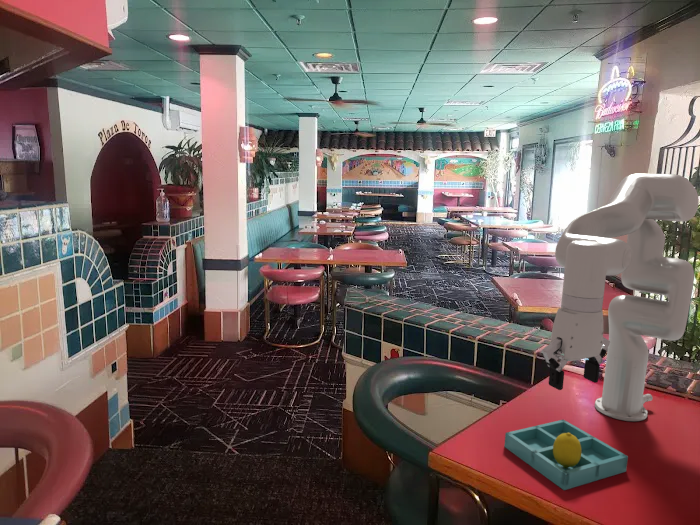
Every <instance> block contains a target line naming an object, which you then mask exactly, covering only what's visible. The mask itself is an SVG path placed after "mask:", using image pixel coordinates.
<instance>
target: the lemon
mask: <svg viewBox="0 0 700 525" xmlns="http://www.w3.org/2000/svg"><path fill="white" fill-rule="evenodd" d="M553 455H554V458H555V460H556V461H557V462H558V463H559V464H560V465H562V466H563V467H564V468H568V467H573V466H575V465H576V464H577V463H578V462H579V460H580V458H581V445H580V442H579V440H578V439H577V438H576V437H575V436H574V435H572V434H571V433H569V432H568V433H563V434H560V435H559V436H558V437H557V438H556V440H555V442H554V445H553Z"/></svg>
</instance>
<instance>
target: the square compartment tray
mask: <svg viewBox="0 0 700 525" xmlns="http://www.w3.org/2000/svg"><path fill="white" fill-rule="evenodd" d="M568 432H569V433H571V434H572V435H574V436H575V437H576V438H577V439H578V440H579V442H580V445H581V458H580V460H579V462H578V463H577V464H576V465H575V466H573V467H568V468H564V467H563V466H562V465H560V464H559V463H558V462H557V461H556V460H555V458H554V455H553V445H554V442H555V440H556V438H557V437H558V436H559V435H560V434H563V433H568ZM504 448H505V449H506V450H508V451H510V452H511V453H512V454H513V455H514V456H516V457H517V458H519V459H520V460H522V461H523V462H525V464H528V465H529V466H530V467H531V468H532V469H534V470H535V471H537V472H539V474H541V475H542V476H544V477H545V478H546V479H547V480H549V481H551V482H552V483H553V484H555V485H556V486H557V487H558V488H561V489H562V490H563V491H566V490H570V489H574V488H576V487H580V486H583V485H587V484H590V483H593V482H596V481H599V480H602V479H606V478H610V477H612V476H615V475H619V474H622V473H625V472H627V469H628V467H627V466H628V462H629V461H628V460H629V456H628V455H627V454H625V453H623V452H621V451H619V450H618V449H617V448H614V447H612V446H611V445H609V444H608V443H606V442H604V441H603V440H600V439H599V438H598V437H595V436H594V435H591V434H590V433H589V432H586V431H585V430H583V429H581V428H579V427H577V426H576V425H574V424H572V423H570V422H569V421H567V420H566V419H559V420H555V421H551V422H546V423H542V424H538V425H534V426H528V427H526V428H525V427H524V428H521V429H516V430H512V431H508V432H505V436H504Z"/></svg>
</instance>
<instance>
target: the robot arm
mask: <svg viewBox="0 0 700 525" xmlns="http://www.w3.org/2000/svg"><path fill="white" fill-rule="evenodd" d="M699 202H700V201H699V194H698V192H697V189H696V187H695V186H694V185H693V183H692V182H691V181H690V180H689V179H687V178H686V177H685V176H682V175H680V174H676V173H675V174H674V173H673V174H672V173H643V172H642V173H633V174H629V175H626V176H625V177H623V179H622V180H620V182H619V183H618V185H617V187H616V188H615V189H614V191H613V193H612V194H611V195H610V198H609V199H608V200H607V202H606V204H604V205H603V206H601V207H599V208H595V209H594V210H591V211H588V212H586V213H584V214H581V215H579V216H578V217H576V218H574V219H573V220H572V221H571V222H570V223H569V224H568V225H567V227H566V228H565V230H564V231H563V232H562V234H561V236H560V237H559V239H558V241H557V244H556V246H555V250H554V251H555V252H554V254H555V260H556V263H557V264H558V265H559V266H560V267H561V268H563V269H564V273H563V283H562V294H561V304H560V308H558V309H557V311H556V314H555V316H554V321H553V326H552V329H551V335H550V341H549V342H550V343H548V345H546V346H545V347H544V348H543V349H542V350H541V352H542V354H543V357H544V361H545V363H546V365H547V367H549V374H548V375H549V376H548V385H549V386H550V387H552V388H554V389H556V390H558V391H562V390H563V389H564V380H565V371H564V370H563V369H564V367H566V365H567V363H568V362H574V361H580V360H584V359H585V361H584V368H583V378H584V379H586V380H588V381H589V382H592V383H594V384H595V383H596V384H597V383H598V382H599V376H600V369H601V368H600V367H601V366H600V365H601V364H602V363H603V362H604V361H603V358H604V357H605V356H606V360H605V368H604V370H605V371H604V376H603V377H604V378H603V386H602V393H601V394H602V395H601V397H598V398H596V400H595V402H594V408H595V409H596V410H597V411H598V412H600V413H601V414H602V415H605V416H607V417H609V418H613V419H616V420H620V421H626V422H640V421H644V420H646V419H647V418H648V413H649V412H648V410H647V409H646V408H645V407H644V404H645V403H646V402H647V403H648V402H651V401H653V398H654V397H653V395H652V394H651V393H646V394H644V391H645V382H646V375H647V368H648V360H649V355H650V354H649V348H648V345H647V343H646V342H645V339H644V337H643V336H646V337H650V338H656V339H658V340H659V339H660V340H665V341H672V342H673V341H678V340H680V339H681V338H682V337H683V335H684V333H685V331H686V328H687V327H686V326H687V323H688V317H689V312H690V306H691V301H692V295H693V294H692V293H693V290H694V289H693V288H694V280H695V271H694V267H693V265H692V264H691V263H690V262H689V261H687V260H685V259H682V258H674V257H667V256H666V257H665V256H664V248H665V243H666V235H665V234H664V232H663V229H662V228H661V226H660V225H659V223H657V221H669V222H681V223H682V222H688V221H690V220H691V219H693V217H695V215H696V213H697V211H698V208H699ZM656 220H657V221H656ZM625 235H626V237H627V238H626V241H624V240H622V239H618V238H619V237H622V236H625ZM618 275H621V276H620V281H621V283H622V285H623V286H624V287H625V288H627V289H629V290H632V291H637V292H641V293H649V294H655V295H662V296H664V297H666V298H667V299H668V301H667V300H661V299H654V298H650V297H644V296H639V295H638V296H637V295H630V294H621V295H616V296H615V297H613V298H612V299H611V301H610V302H609V305H608V309H607V313H608V315H607V316H608V318H607V319H608V339H607V338H606V337H604V313H603V304H604V297H605V296H604V295H605V289H606V288H605V286H606V277H607V276H618ZM558 360H560V361H559V362H558Z"/></svg>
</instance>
